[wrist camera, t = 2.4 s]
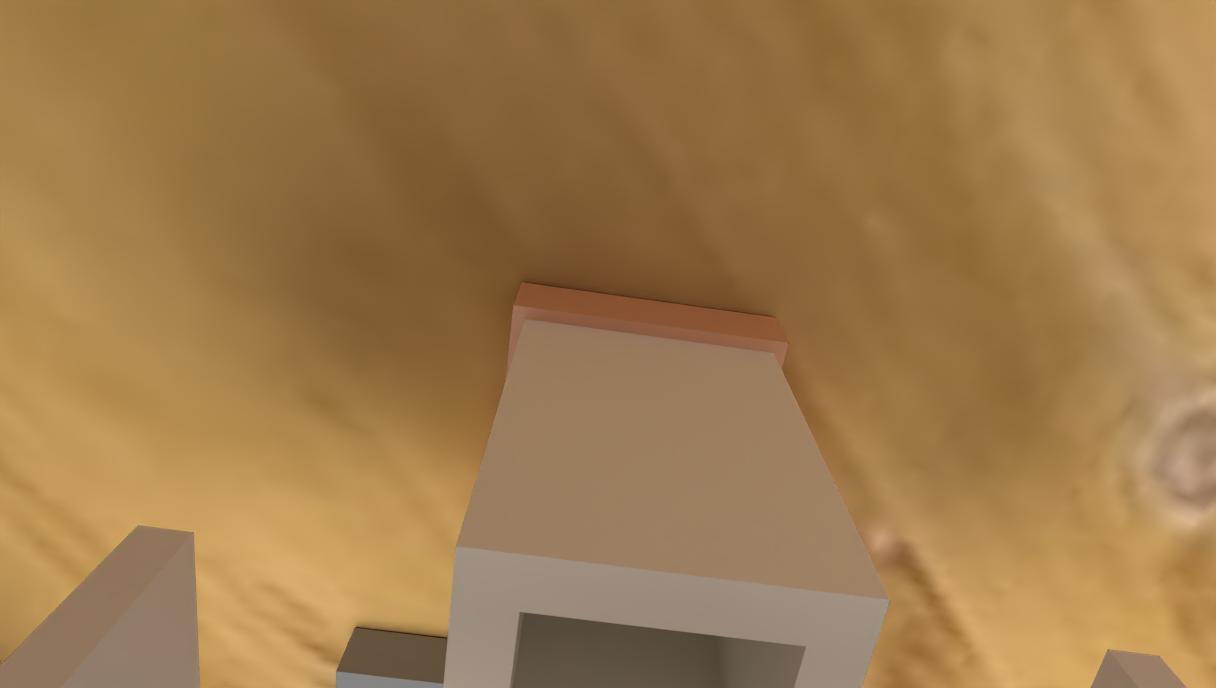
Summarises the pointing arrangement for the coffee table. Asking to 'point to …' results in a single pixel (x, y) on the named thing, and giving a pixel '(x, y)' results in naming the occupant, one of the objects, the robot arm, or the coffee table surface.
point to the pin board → (392, 661)
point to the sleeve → (655, 512)
